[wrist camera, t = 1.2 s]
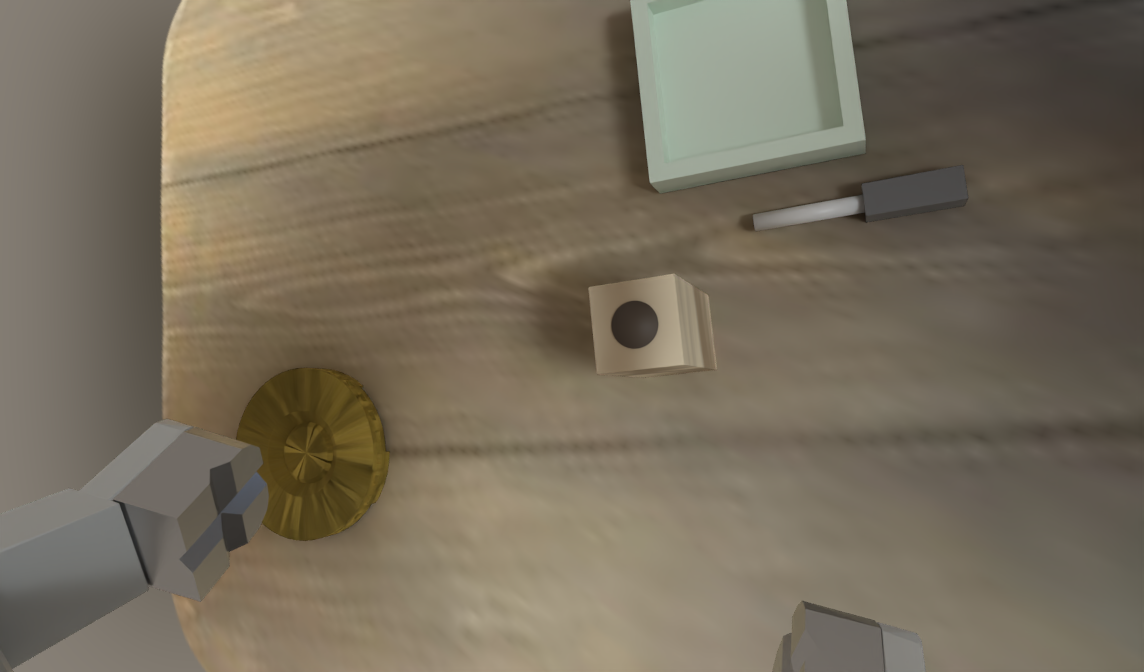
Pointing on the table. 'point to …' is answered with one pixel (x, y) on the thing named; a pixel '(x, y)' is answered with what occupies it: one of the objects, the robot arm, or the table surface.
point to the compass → (316, 451)
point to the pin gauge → (880, 200)
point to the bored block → (651, 328)
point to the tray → (744, 87)
